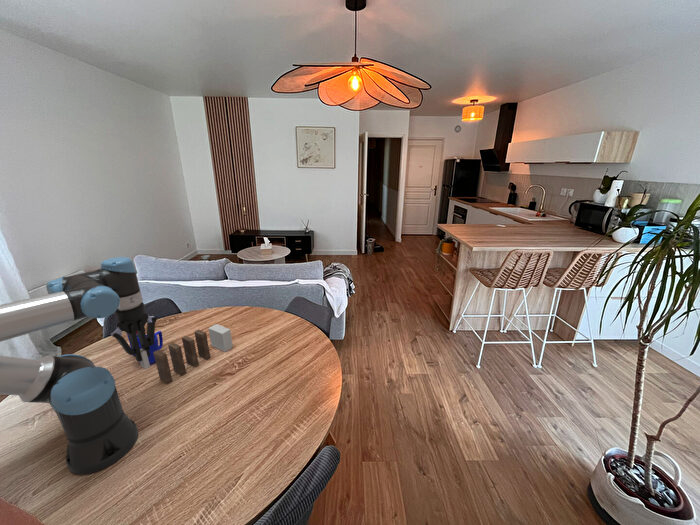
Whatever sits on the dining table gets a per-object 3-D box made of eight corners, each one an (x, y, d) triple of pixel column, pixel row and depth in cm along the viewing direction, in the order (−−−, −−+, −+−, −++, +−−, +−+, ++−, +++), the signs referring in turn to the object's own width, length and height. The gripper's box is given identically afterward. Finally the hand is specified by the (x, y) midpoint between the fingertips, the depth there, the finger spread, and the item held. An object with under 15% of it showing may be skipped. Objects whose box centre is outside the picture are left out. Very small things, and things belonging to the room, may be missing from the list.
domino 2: (181, 375, 107) (175, 348, 103) (174, 371, 109) (167, 344, 105) (186, 372, 108) (180, 346, 104) (178, 368, 110) (172, 342, 106)
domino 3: (191, 360, 115) (186, 335, 111) (198, 364, 112) (193, 339, 109) (187, 363, 113) (181, 337, 109) (194, 367, 111) (189, 341, 107)
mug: (173, 349, 122) (168, 329, 119) (152, 368, 110) (146, 346, 107) (155, 348, 122) (150, 328, 119) (132, 366, 111) (126, 345, 108)
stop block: (225, 352, 120) (222, 333, 118) (211, 345, 124) (208, 328, 122) (232, 347, 124) (230, 329, 121) (219, 341, 128) (216, 324, 125)
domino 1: (167, 384, 102) (161, 356, 98) (160, 379, 104) (153, 352, 101) (172, 381, 104) (166, 353, 100) (165, 376, 106) (158, 349, 102)
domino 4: (206, 360, 115) (202, 334, 111) (198, 356, 117) (194, 331, 114) (210, 357, 117) (206, 332, 113) (202, 354, 119) (198, 329, 115)
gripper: (110, 317, 82) (129, 382, 90) (157, 299, 93) (171, 359, 100) (98, 311, 85) (118, 374, 93) (144, 295, 96) (159, 352, 104)
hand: (145, 366), depth 97 cm, fingers closed
